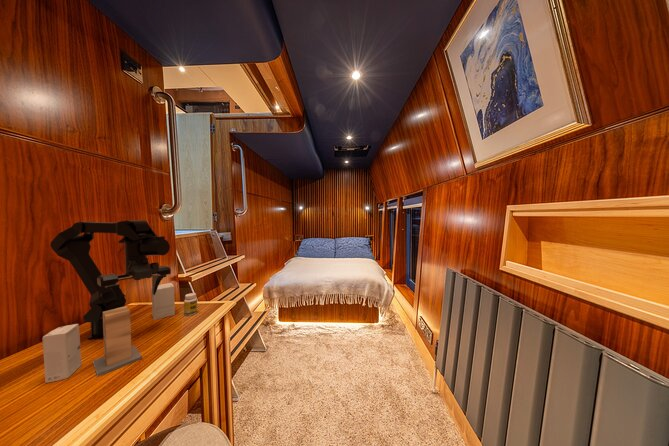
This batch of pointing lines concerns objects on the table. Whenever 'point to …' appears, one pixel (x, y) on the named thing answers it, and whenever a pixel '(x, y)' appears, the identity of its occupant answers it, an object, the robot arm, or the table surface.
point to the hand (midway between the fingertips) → (137, 298)
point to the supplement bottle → (190, 304)
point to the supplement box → (163, 301)
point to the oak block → (117, 335)
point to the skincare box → (61, 352)
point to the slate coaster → (103, 368)
